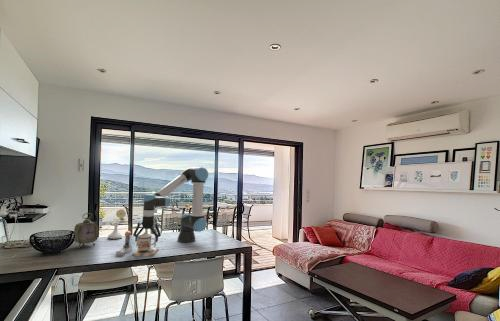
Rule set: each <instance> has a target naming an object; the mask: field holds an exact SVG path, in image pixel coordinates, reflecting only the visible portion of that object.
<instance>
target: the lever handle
mask: <svg viewBox="0 0 500 321" xmlns="http://www.w3.org/2000/svg"><path fill="white" fill-rule="evenodd" d="M124 237H125V241H124V244H123V246H122V247H130V246H132V244H131V243H130V242H131V237H132V232H131V231H129V230H127V231H125V233H124Z"/></svg>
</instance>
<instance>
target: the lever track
mask: <svg viewBox="0 0 500 321" xmlns="http://www.w3.org/2000/svg"><path fill="white" fill-rule="evenodd" d="M132 250H133V245H131V246H130V247H123V246H122V247H121V248H119V249H118V250H116V251H115V257H125V256H126V255H127V254H128V253H130V252H131V251H132ZM125 254H126V255H125Z"/></svg>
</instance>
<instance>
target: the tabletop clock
mask: <svg viewBox="0 0 500 321" xmlns="http://www.w3.org/2000/svg"><path fill="white" fill-rule="evenodd" d="M86 215H91V216H89V217H88V216H86ZM85 216H86V217H85ZM92 217H93V213H91V212H86V213H83V214H82V218H83V219H84V220H83V221H82V222H78V223H77V224H75V226H74V229H73V234H74V233H75V238H74V237H73V240H74V242H76V243H78V244H79V245H78V246H77V249H81V246H82V247H85V245H86V244H89V243H92V245H93V246H95V245H96V243H94V242H96V241H97V240H98V238H99V234H100V226H99V224H98V223H97V222H93V221H91V218H92ZM81 244H82V245H81Z"/></svg>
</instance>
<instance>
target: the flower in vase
mask: <svg viewBox="0 0 500 321" xmlns="http://www.w3.org/2000/svg"><path fill="white" fill-rule="evenodd" d="M115 215H116V217H117V218H119V219H116V218H113V220H115V221H113V225H114V230H113V231H112V232H111V233H110V234H108V235H107V238H108V239H110V240H116V239H117V240H118V239H122V237H123V234H122V233H121V232H119V230H118V228H119V227H118V226H119V224H120V221H121V222H123V221H125V220H126V219H125V218H124V217H126V215H127V212H126V210H125V209H122V208H121V209H118V210H117V211H116V213H115Z"/></svg>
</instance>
